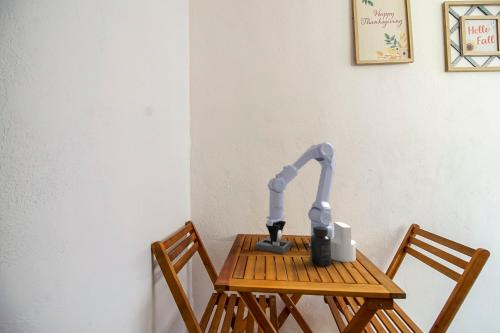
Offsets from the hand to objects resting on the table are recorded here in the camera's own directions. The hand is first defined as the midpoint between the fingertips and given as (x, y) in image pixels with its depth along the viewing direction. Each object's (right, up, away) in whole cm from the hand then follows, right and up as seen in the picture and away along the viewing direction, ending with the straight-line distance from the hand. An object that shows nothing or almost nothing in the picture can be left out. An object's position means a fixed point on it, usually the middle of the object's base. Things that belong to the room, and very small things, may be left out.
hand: (275, 240), depth 92 cm
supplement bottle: (+14, -3, -15) cm, 21 cm away
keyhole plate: (-1, -3, 0) cm, 3 cm away
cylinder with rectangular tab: (+24, -4, -9) cm, 26 cm away
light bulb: (0, -3, 0) cm, 3 cm away
